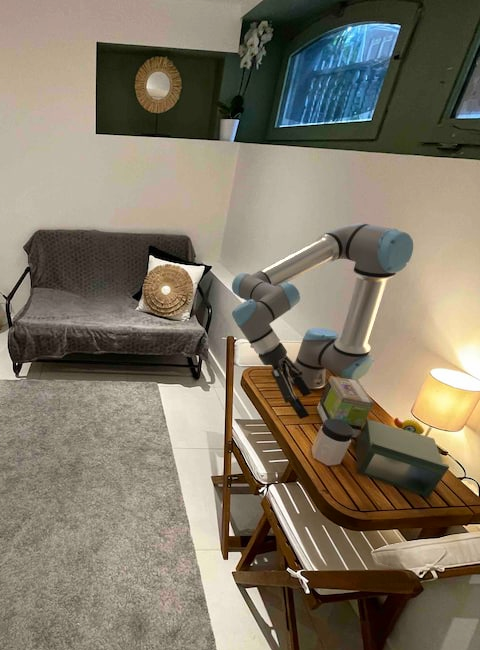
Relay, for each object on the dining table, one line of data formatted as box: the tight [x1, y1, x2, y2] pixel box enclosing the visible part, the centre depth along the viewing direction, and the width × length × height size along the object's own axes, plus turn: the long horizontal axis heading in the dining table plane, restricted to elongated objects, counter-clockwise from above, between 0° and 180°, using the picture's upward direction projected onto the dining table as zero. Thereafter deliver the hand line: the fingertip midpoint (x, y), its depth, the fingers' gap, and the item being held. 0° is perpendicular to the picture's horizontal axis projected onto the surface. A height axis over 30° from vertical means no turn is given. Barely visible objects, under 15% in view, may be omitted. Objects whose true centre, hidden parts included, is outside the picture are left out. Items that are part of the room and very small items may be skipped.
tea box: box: [316, 375, 375, 438], centre depth 131 cm, size 15×10×15 cm, turn 168°
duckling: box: [393, 417, 425, 435], centre depth 123 cm, size 11×5×10 cm, turn 47°
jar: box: [310, 419, 354, 467], centre depth 115 cm, size 9×8×12 cm
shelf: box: [354, 418, 450, 498], centre depth 113 cm, size 16×18×12 cm
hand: (306, 405), depth 114 cm, fingers open, 13 cm apart
